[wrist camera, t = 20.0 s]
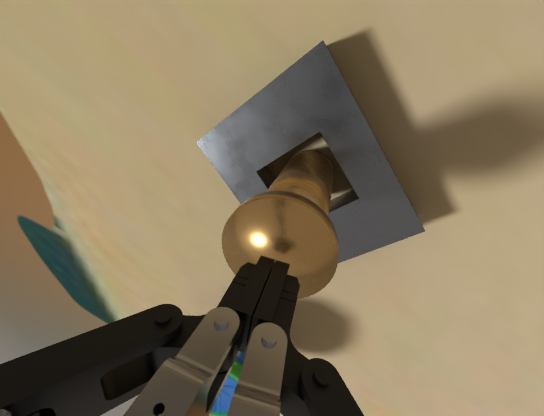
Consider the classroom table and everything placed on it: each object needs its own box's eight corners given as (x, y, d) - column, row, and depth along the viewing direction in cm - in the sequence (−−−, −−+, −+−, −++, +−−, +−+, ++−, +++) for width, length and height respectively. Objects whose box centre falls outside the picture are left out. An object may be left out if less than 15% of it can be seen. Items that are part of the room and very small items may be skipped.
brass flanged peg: (266, 163, 27) (200, 230, 15) (320, 129, 25) (294, 176, 12) (298, 213, 29) (263, 310, 17) (353, 186, 26) (360, 279, 14)
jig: (210, 136, 28) (196, 142, 25) (325, 45, 22) (323, 40, 19) (299, 262, 32) (294, 278, 29) (417, 216, 26) (425, 231, 23)
